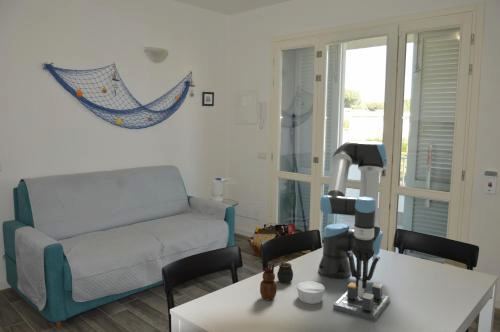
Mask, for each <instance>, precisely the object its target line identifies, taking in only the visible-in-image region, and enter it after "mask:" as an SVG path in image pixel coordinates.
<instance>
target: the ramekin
mask: <svg viewBox="0 0 500 332" xmlns="http://www.w3.org/2000/svg"><path fill="white" fill-rule="evenodd" d="M296 289H297V297H298V298H299V300H300V301H301V302H303V303H304V304H312V305H315V304H319V303H320V302H322V301H323V297H324V294H325V290H326V289H325V285H323V284H322V283H320V282H317V281H311V280H309V281H308V280H306V281H302V282H299V283H298V284H297V285H296Z"/></svg>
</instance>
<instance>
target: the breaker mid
mask: <svg viewBox="0 0 500 332" xmlns="http://www.w3.org/2000/svg"><path fill="white" fill-rule="evenodd" d="M347 290H348V292H347V297H348V298H352V299H355V298H356V297H357V296H358V287H356V282H350V283H349V284H348V285H347Z"/></svg>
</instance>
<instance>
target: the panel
mask: <svg viewBox="0 0 500 332" xmlns="http://www.w3.org/2000/svg"><path fill="white" fill-rule="evenodd" d="M347 292H348V289H347V290H346V291H345V292H344V293H343V294H342V295H341V296H340V297H339V298H338V299H337V300H336V301H335V302H334V303H332V309H333V310H335V311H337V312H342V313H345V314H347V315H351V316H354V317H358V318H361V319H365V320H367V321H371V322H376V321H377V320H378V318H379V317H380V316H381V314H382V313H383V311H384V310H385V308H386V307H387V305H388V304H389V303H390V301H391V296H389V295H384V294H382V297H381V298H380V299H377V298H374V299H373V308H372V309H371V310H370V311H368V310H365V309H362V301H363V296H362V297H360V296H357V297H356V298H355V299H352V298H348V297H347ZM365 293H369V294H372V291H370V290H366V289H364V294H365Z"/></svg>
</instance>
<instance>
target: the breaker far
mask: <svg viewBox="0 0 500 332" xmlns="http://www.w3.org/2000/svg"><path fill="white" fill-rule="evenodd" d="M371 286H372V288H371V289H372V290H371V292H372V294H373V295H374V298H377V299H380V298H381V297H382V295H383V288H384V287H383V286H384V285H383V283H380V282H374V283H373V284H372V285H371Z"/></svg>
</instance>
